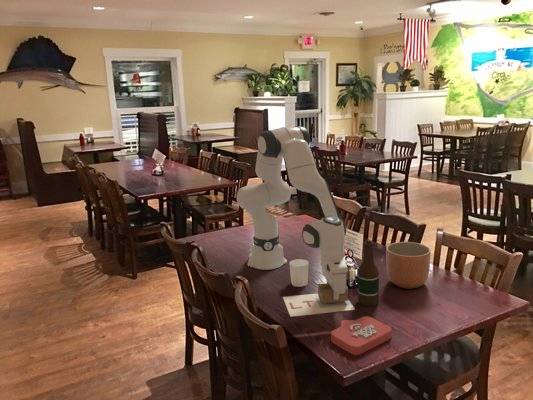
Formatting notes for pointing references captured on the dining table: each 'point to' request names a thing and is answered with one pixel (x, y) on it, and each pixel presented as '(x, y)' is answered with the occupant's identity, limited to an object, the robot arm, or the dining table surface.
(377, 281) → the beer bottle
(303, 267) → the white cup
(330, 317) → the dining table surface
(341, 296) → the walnut bar
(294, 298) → the board
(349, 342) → the plaque
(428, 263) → the planter
